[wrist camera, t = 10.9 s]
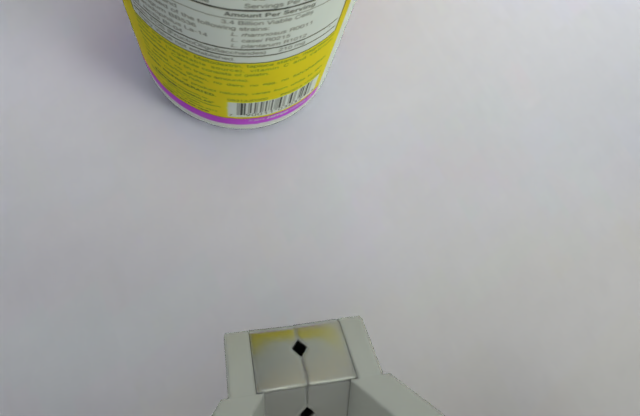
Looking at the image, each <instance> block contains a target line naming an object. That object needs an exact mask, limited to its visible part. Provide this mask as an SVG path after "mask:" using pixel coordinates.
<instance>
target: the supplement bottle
mask: <svg viewBox="0 0 640 416" xmlns="http://www.w3.org/2000/svg"><path fill="white" fill-rule="evenodd" d="M355 1H356V0H123V3H124V6H125V9H126V11H127V14H128V16H129V19H130V22H131V25H132V28H133V31H134V34H135V36H136V39H137V42H138V44H139V47H140V50H141V53H142V55H143V58H144V60H145V63H146V65H147V68H148V70H149V72H150V74H151V76H152V78H153V79H154V81H155V83H156V84H157V86H158V87H159V88H160V90H161V91H162V92H163V93H164V94H165V95H166V97H167V98H168V99H169V100H170V101H171V102H173V103H174V104H175V105H176V106H177V107H179V108H180V109H181V110H183V111H184V112H186V113H187V114H189V115H190V116H192V117H194V118H197V119H199V120H201V121H204V122H207V123H210V124H213V125H216V126H220V127H225V128H233V129H251V128H259V127H264V126H268V125H271V124H274V123H277V122H280V121H282V120H284V119H286V118H288V117H290V116H291V115H293V114H295V113H296V112H298V111H299V110H300V109H301V108H303V107H304V106H305V105H306V104H307V103H308V102H309V101H310V100H311V99H312V98H313V97H314V95H315V94H316V93H317V91H318V90H319V88H320V87H321V85H322V83H323V81H324V80H325V77H326V75H327V72H328V70H329V68H330V65H331V63H332V61H333V58H334V55H335V53H336V50H337V48H338V45H339V43H340V40H341V38H342V35H343V32H344V30H345V27H346V25H347V22H348V19H349V17H350V14H351V12H352V9H353V6H354V4H355Z"/></svg>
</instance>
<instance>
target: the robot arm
mask: <svg viewBox="0 0 640 416" xmlns="http://www.w3.org/2000/svg"><path fill="white" fill-rule="evenodd" d="M224 345H225V360H226V374H227V389H228V399H223V400H221V401H220V403H219V404H218V406H217V407H216V409H215V411H214V412H213V414H212V416H445V415H444V414H442V413H441V412H440V411H438V410H437V409H436V408H434V407H433V406H432V405H431V404H429V403H428V402H427V401H425V400H424V399H423V398H421V397H420V396H419V395H417V394H416V393H415V392H414V391H412V390H411V389H410V388H408V387H407V386H406V385H404V384H403V383H402V382H400V381H399V380H398V379H397V378H395V377H394V376H393V375H391V374H390V373H389V374H383V372H382V369H381V367H380V364H379V361H378V359H377V356H376V354H375V351H374V348H373V346H372V343H371V341H370V338H369V335H368V333H367V330H366V328H365V325H364V322H363V320H362V318H361V317H360V316H354V317H347V318H340V319H331V320H325V321H318V322H311V323H304V324H297V325H293V326H285V327H276V328H267V329H257V330H249V333H248V331H242V332H234V333H225V336H224Z"/></svg>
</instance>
